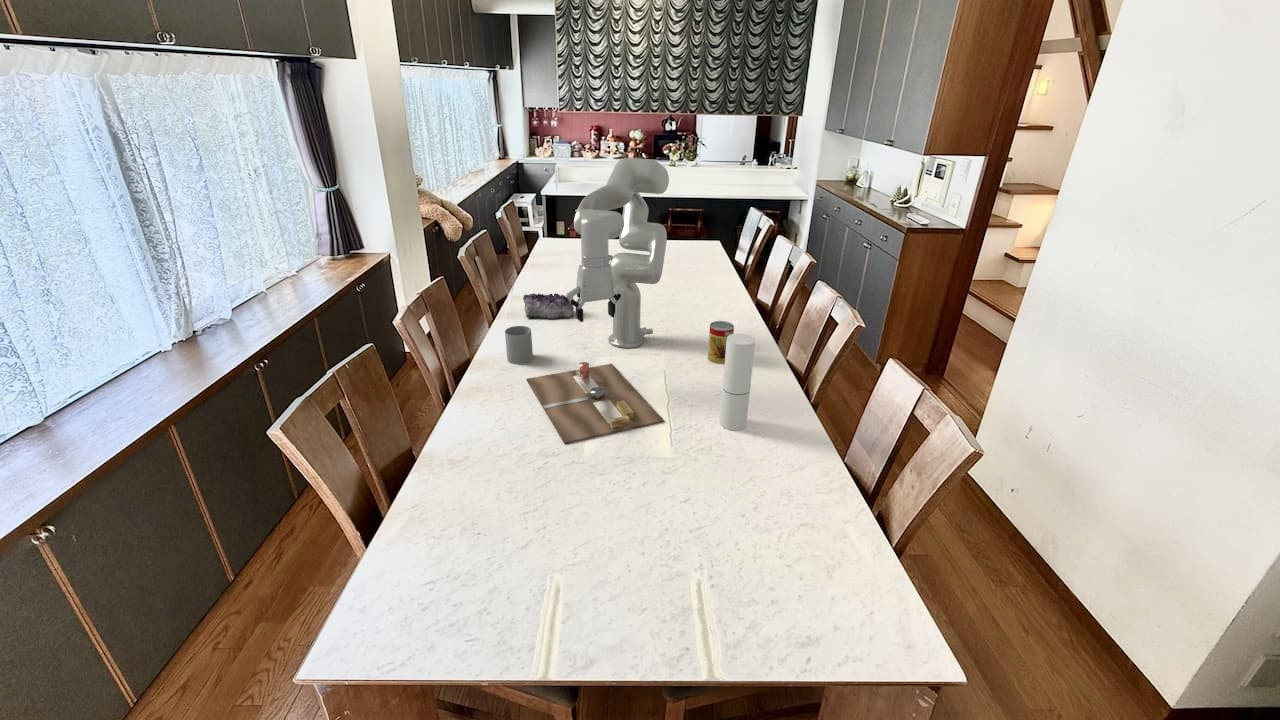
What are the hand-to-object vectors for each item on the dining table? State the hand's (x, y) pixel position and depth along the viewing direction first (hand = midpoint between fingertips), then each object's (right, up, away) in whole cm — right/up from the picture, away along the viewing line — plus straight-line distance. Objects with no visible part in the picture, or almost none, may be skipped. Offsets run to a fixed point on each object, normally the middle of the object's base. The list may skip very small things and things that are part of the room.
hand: (595, 318), depth 175 cm
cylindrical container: (+38, -30, -12) cm, 50 cm away
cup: (-27, -12, +22) cm, 37 cm away
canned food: (+39, -12, +25) cm, 48 cm away
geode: (-23, +5, +59) cm, 63 cm away
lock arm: (-2, -20, +4) cm, 21 cm away
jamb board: (-1, -24, -2) cm, 24 cm away
